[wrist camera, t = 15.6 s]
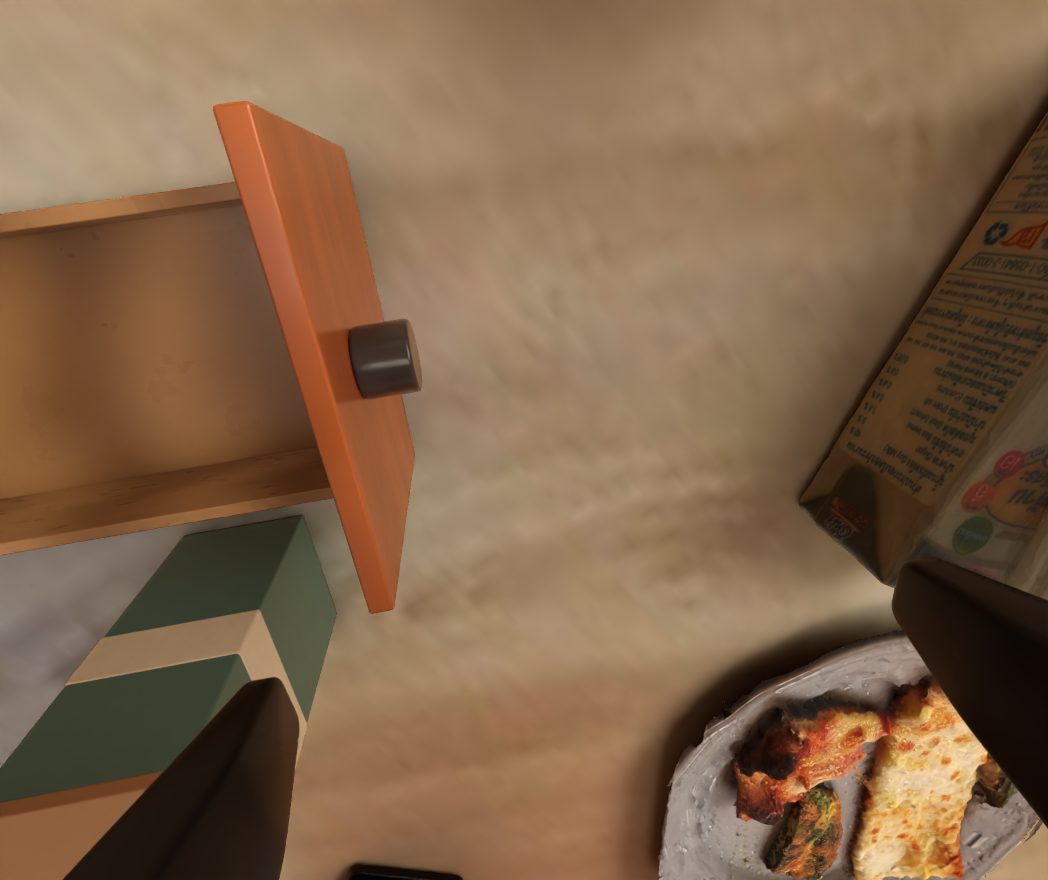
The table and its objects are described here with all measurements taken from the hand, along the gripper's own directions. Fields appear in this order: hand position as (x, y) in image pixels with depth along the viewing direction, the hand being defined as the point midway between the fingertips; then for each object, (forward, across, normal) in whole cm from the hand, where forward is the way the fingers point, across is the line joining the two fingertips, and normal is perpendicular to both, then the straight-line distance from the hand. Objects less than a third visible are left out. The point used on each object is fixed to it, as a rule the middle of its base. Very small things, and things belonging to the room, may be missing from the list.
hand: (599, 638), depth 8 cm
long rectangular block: (+13, +11, +7) cm, 19 cm away
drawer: (+13, +12, -2) cm, 18 cm away
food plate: (+13, -16, +28) cm, 35 cm away
